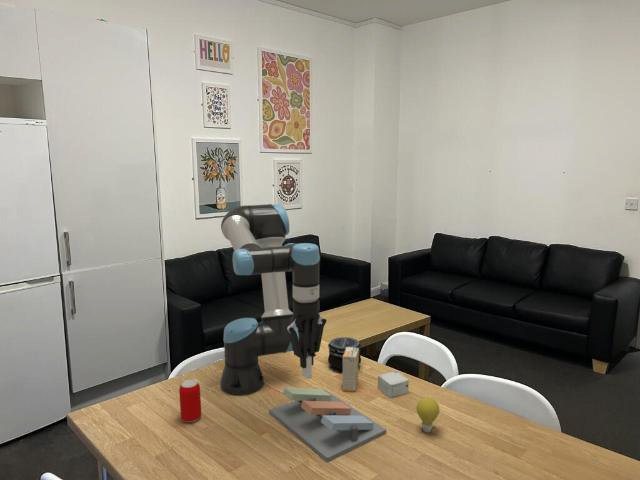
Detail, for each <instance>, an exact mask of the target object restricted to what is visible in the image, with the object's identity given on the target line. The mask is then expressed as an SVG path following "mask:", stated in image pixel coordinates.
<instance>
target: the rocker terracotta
mask: <svg viewBox="0 0 640 480" xmlns="http://www.w3.org/2000/svg"><path fill="white" fill-rule="evenodd" d="M346 404H347V403H346ZM346 404H344V403H342V402H331V401H302V404H301V408H302V409H304V410H305V411H306V412H308V413H309V414H311V415H330V412H332V411H335V412H336V415H350V412H351V409H352V408H353V407H352V408H350V407H349V406H350V405H349V406H347V405H346Z"/></svg>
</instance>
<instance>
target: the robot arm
mask: <svg viewBox="0 0 640 480" xmlns="http://www.w3.org/2000/svg"><path fill="white" fill-rule="evenodd" d="M220 229H221V232H222V235H223V236H224V238H225V239H227V240H228V241H229V242H230V244H231V247H232V249H233V250H234V251H233V252H232V266H233V267H232V268H233V272H234V273H235V275H237V276H251V275H261V283H262V295H263V305H264V312H263V314H262V315H261V321H260V322H258V321H257V319H256V318H254V317H242V318H238V319H234V320H232V321H231V322H229V323H228V324H226V326H225V327H224V329H223V343H224V348H223V349H224V368H223V372H222V375H221V378H220V389H221V390H222V391H223V392H224V393H226V394H229V395H235V396H244V395H250V394H253V393H256V392H258V391H260V390H261V389H263V387H264V385H265V382H264V381H265V378H264V374H263V371H262V370H261V366H260V364H259V357H261V356H266V355H267V356H268V355H274V354H275V355H276V354H286V353H288V352H289V353H290V352H292V353H293V355H294V356H296V357H298V358H299V365H300V368H301V371H302V372H301V375H302V377H303V378H305V379H307V380H309V379H312V377H313V376H312V375H313V373H312V372H313V371H312V370H313V369H312V366H314V362H315V359H314V358H315V357H316V356H317V353H319V352H320V348H321V343H322V339H323V333H324V327H325V325H326V324H327V319H326V318H324V317H322V316H320V313H319V312H320V311H321V310H320V308H321V307H320V299H319V298H320V260H321V255H320V248H319V246H318V245H317V244H315V243H309V242H304V243H303V242H302V243H294V242H293V243H292V242H291V243H290V242H289V243H287V244H285V245H283V243H284V242H285V241H286V236H287V235H289V233H290V220H289V216H288V212H287V211H286V209H285V207H284V206H283V205H282V204H272V203H269V204H253V205H239V206H236V207H234V208H232V209H230V210H229V211H228V212H227V213H225V215H224V217H223V218H222V220H221V224H220ZM286 272H292V298H293V300H292V310H290V308H289V301H288V289H287V279H286Z"/></svg>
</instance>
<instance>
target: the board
mask: <svg viewBox="0 0 640 480" xmlns="http://www.w3.org/2000/svg"><path fill="white" fill-rule="evenodd" d="M323 390H324V391H326V392H327V393H329V394H330V395H332V396H331V400H330V401H331V402H342V403H344V404H346V405H347V406H349V407H350V408H352V409H351V412H350V415H359V416H364V417H365V418H367V419H368V420H370V421H371V422H373V423H374V424H373V427H372V430H358V427H357V426H355V427H352V431H350V430H330V429H329V428H328V427H326V426H325V425H324V424H322V423H321V420H322V416H323V415H311V414H309V413H308V412H306V411H305V410H304V409H302V408H301V404H302V401H299V400H291V401H290V402H287V403H284V404H281V405H279V406H277V407H276V406H275V407H274V408H271V409H269V414H270V416H272V417H273V418H274V419H275V420H277V421H278V422H279V423H280V424H282V425H283V427H285V428H286V429H287V430H289V432H291V433H292V434H293V435H294V436H296V437H297V438H298V439H299V440H300V441H302V442H303V444H305V445H306V446H307V447H309V448H310V449H311V450H312V451H313V452H315V454H317V455H318V456H319V457H321V458H322V459H323V460H324V461H325V462H326V463H328V462H330V461H332V460H335V459H337V458H339V457H341V456H342V455H345V454H347V453H349V452H351V451H353V450H355V449H357V448H359V447H361V446H363V445H365V444H367V443H370V442H372V441H373V440H376V439H378V438H380V437H381V436H383V435H386V434H387V429H386V428H384V426H381V425H380V424H379V423H377V422H376V421H374V420H373V419H371V418H370V417H368V416H367V415H365V414H364V413H362V412H360V411H358V410H357V409H356V408H354V407H352V406H351V405H350V404H348V403H346V402H345V401H343V400H342V399H341V398H338V397H337V396H336V395H334V394H332V393H331V392H330V391H328V390H326V389H323ZM310 401H316V398H315V397H314V398H311V399H310ZM330 415H336V412H335V411H332V412H330Z"/></svg>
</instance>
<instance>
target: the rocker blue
mask: <svg viewBox="0 0 640 480" xmlns="http://www.w3.org/2000/svg"><path fill="white" fill-rule="evenodd" d="M321 423H322V424H324V425H325V426H326V427H328V428H329V429H330V430H350V431H352V427H355V426H357V427H358V430H372V427H373V424H374V423H373V422H371V421H370V420H368V419H367V418H365V417H364V416H359V415H323V416H322V420H321Z"/></svg>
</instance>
